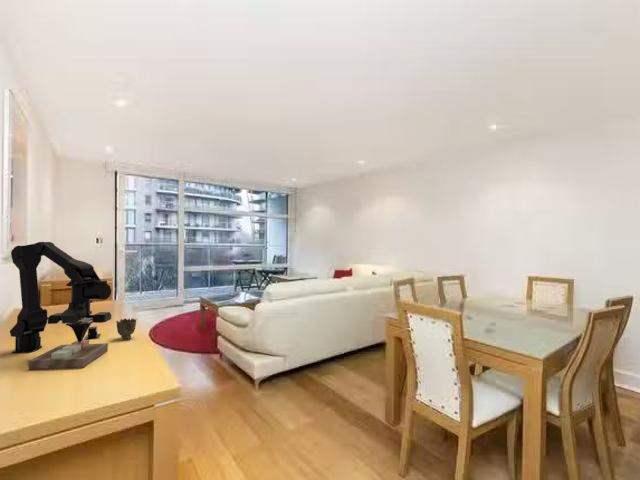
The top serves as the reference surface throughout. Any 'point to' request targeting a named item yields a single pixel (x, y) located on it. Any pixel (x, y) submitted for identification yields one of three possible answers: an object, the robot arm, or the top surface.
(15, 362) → the top surface
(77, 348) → the ivory button
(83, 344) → the terracotta button
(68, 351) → the sage button
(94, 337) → the black block on base
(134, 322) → the cup
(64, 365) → the brown wooden tray
